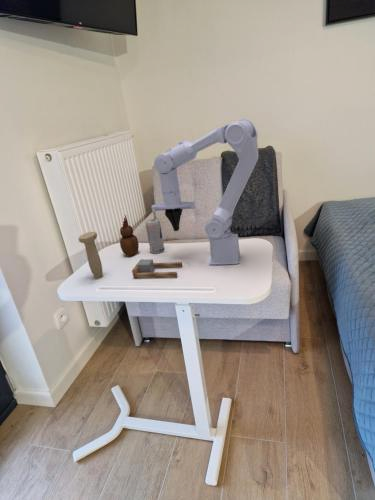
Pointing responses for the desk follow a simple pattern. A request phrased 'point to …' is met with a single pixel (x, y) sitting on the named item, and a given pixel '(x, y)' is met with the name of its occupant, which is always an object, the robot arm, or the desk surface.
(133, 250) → the wooden figurine
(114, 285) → the desk surface
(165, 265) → the channel
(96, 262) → the handle
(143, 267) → the grey cube
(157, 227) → the energy drink
